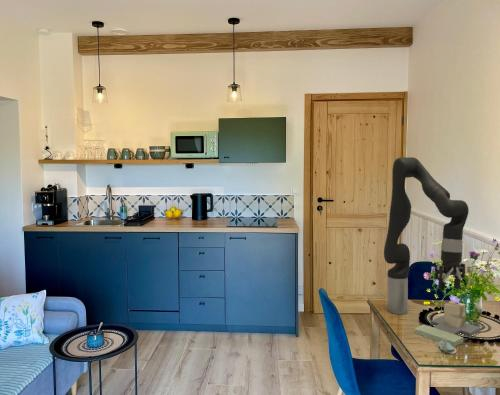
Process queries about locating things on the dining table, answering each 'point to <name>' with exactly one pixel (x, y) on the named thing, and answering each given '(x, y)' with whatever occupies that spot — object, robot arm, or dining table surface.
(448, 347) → the pacifier
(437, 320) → the trap deck
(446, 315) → the birch block
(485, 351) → the dining table surface
